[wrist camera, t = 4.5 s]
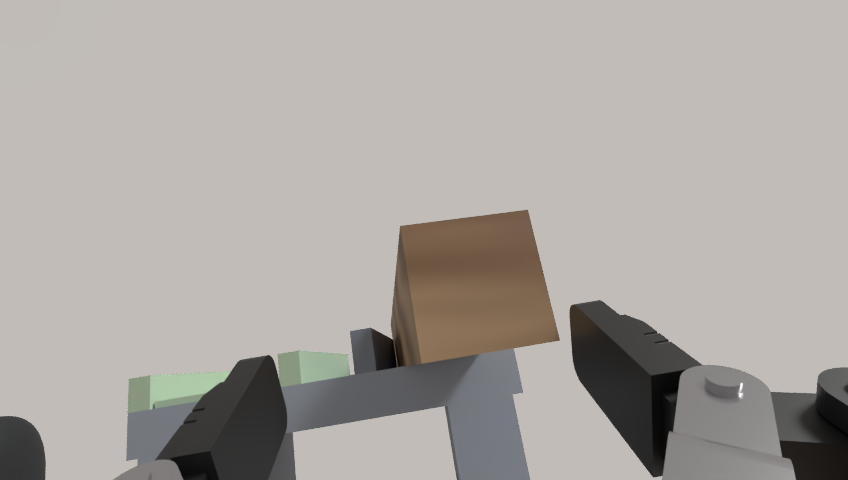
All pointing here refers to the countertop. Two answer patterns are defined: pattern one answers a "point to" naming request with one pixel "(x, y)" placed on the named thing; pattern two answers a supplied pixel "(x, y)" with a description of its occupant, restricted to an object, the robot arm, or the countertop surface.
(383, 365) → the bridge
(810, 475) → the robot arm
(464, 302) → the wooden square beam
